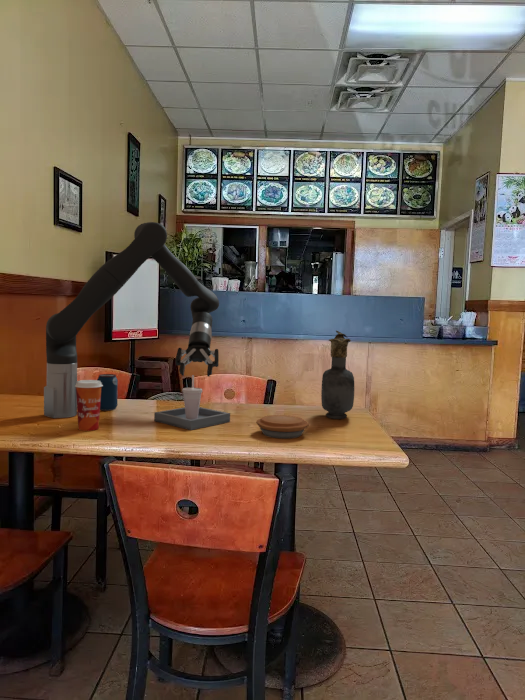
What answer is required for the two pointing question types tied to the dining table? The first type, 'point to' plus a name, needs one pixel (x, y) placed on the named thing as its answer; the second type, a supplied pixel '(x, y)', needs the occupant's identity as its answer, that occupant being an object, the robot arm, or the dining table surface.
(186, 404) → the smoothie
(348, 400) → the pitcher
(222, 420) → the tray
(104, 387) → the soda can
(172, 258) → the robot arm
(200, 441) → the dining table surface
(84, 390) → the paper cup
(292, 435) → the pie
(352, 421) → the dining table surface
